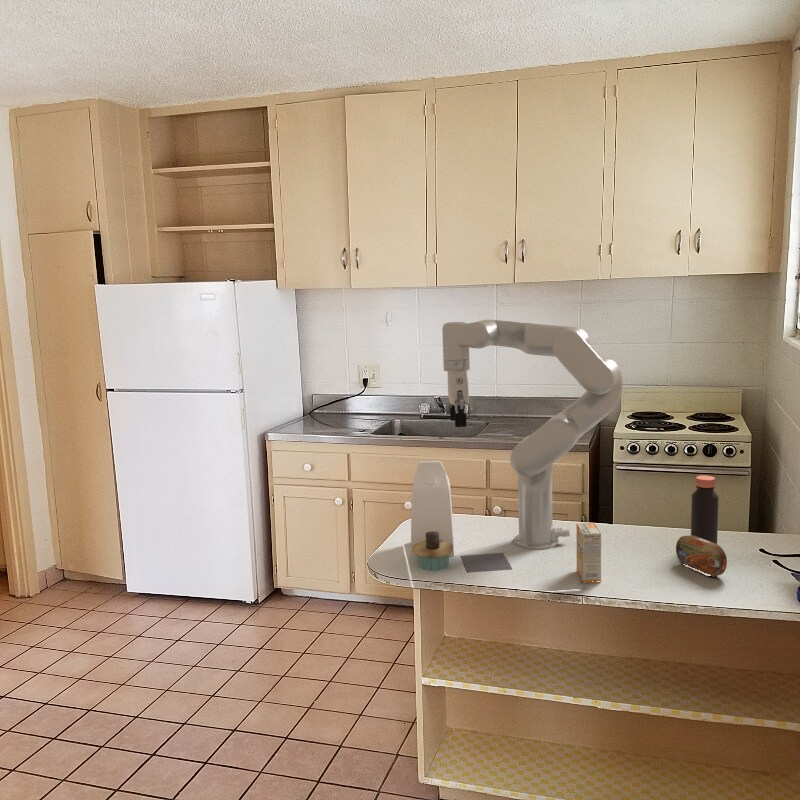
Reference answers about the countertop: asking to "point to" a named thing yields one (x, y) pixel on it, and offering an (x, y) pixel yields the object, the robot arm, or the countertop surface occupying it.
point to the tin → (701, 555)
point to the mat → (485, 562)
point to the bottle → (705, 509)
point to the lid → (432, 546)
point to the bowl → (433, 562)
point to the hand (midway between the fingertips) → (458, 423)
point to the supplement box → (588, 552)
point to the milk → (431, 504)
